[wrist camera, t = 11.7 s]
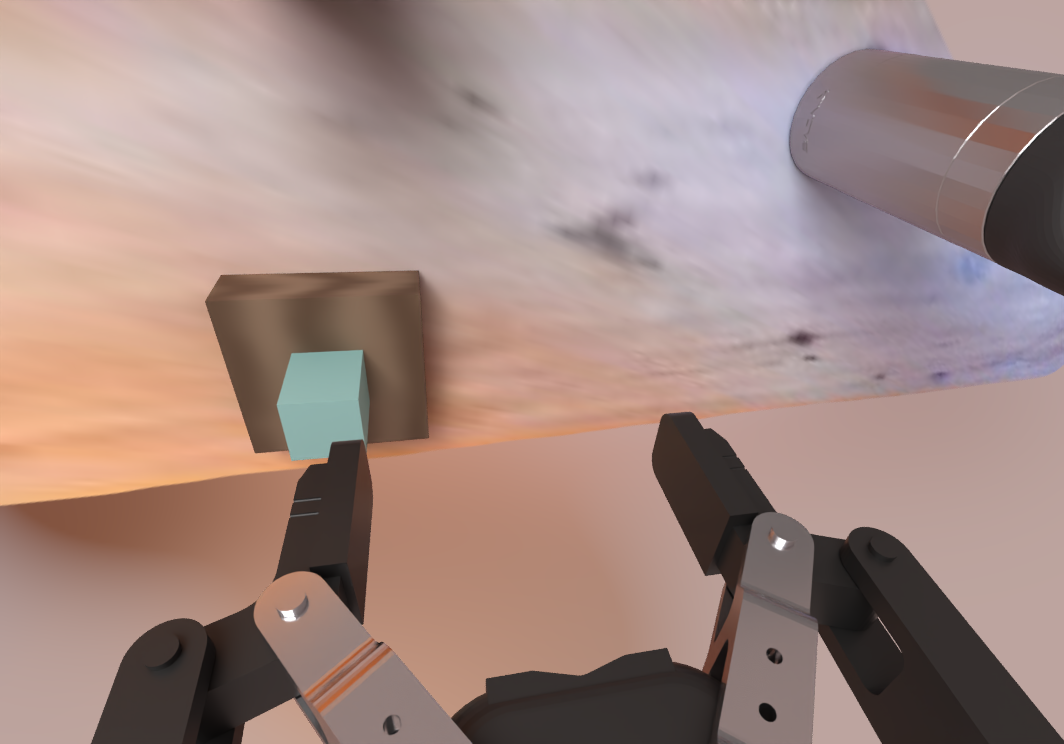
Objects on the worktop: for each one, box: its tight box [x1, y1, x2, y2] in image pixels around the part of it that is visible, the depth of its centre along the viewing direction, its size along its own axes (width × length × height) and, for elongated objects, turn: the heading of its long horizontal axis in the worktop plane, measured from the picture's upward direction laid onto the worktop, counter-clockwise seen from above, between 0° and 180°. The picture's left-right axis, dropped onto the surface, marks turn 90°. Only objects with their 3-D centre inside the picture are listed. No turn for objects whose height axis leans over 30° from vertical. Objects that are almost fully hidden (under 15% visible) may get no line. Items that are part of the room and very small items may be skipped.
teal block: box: [277, 350, 370, 461], centre depth 38 cm, size 5×5×6 cm
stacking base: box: [205, 271, 429, 453], centre depth 42 cm, size 14×14×4 cm
